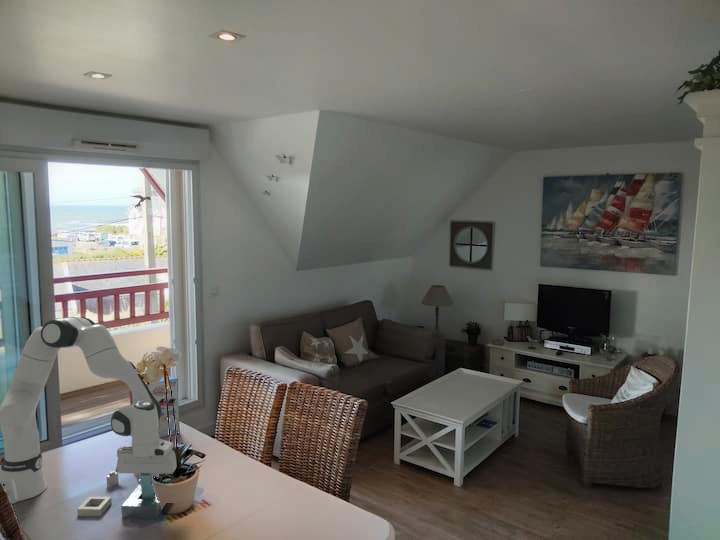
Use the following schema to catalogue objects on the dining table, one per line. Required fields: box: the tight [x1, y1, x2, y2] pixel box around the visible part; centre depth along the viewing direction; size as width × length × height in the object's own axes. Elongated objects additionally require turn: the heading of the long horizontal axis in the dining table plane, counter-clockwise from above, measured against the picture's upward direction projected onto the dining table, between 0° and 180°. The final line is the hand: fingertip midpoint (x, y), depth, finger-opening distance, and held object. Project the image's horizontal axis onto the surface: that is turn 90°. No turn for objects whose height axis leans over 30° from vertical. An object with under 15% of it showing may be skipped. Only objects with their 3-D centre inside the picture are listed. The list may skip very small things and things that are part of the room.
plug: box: [139, 473, 155, 499], centre depth 188 cm, size 4×4×10 cm
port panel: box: [121, 484, 162, 520], centre depth 188 cm, size 12×14×5 cm
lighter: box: [106, 466, 119, 489], centre depth 204 cm, size 7×2×8 cm, turn 156°
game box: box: [129, 375, 181, 439], centre depth 245 cm, size 21×6×27 cm, turn 123°
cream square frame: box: [76, 495, 112, 517], centre depth 187 cm, size 8×8×2 cm
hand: (147, 483), depth 188 cm, fingers closed on plug, 4 cm apart
